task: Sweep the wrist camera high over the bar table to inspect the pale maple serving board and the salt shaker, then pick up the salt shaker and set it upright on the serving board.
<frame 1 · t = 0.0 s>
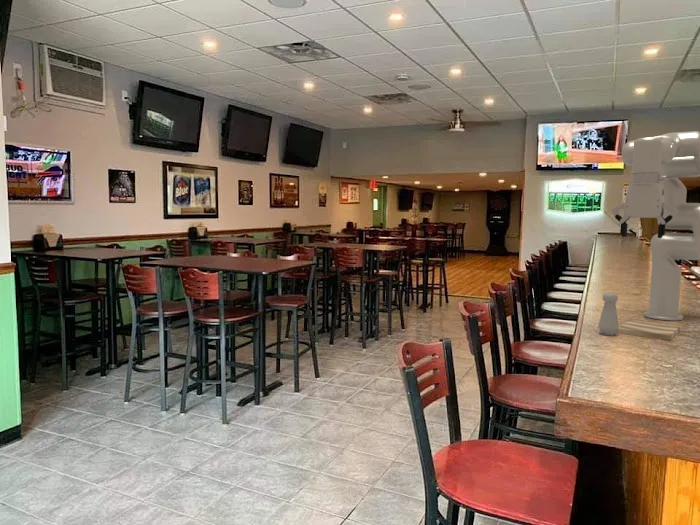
hand: (641, 237, 159), 31 cm above the bar counter, tool pointing down, fingers open, 9 cm apart
serving board: (648, 331, 172), on the bar counter
salt shaker: (607, 334, 168), on the bar counter
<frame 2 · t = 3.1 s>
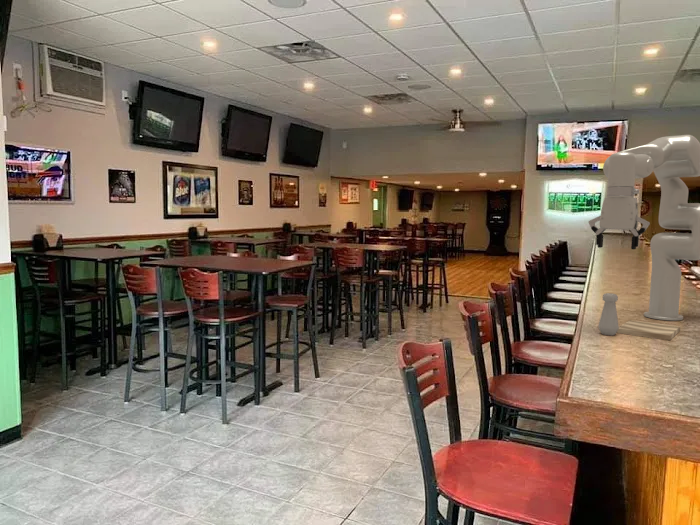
hand: (616, 248, 165), 27 cm above the bar counter, tool pointing down, fingers open, 9 cm apart
nothing on the bar counter moved.
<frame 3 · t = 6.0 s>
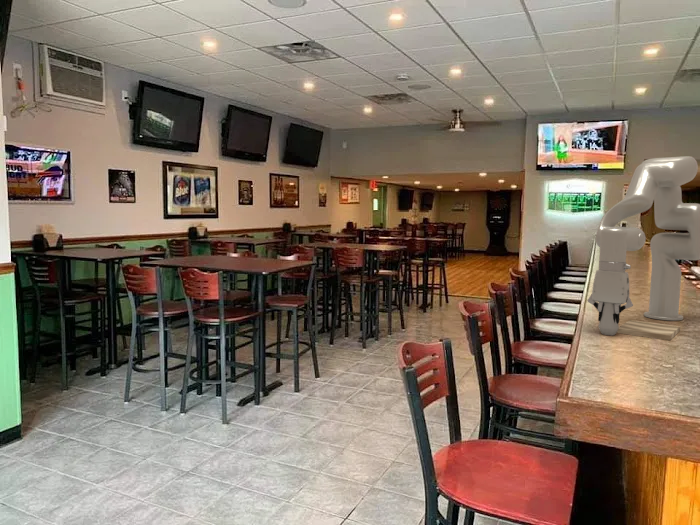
hand: (608, 324, 167), 3 cm above the bar counter, tool pointing down, fingers closed on salt shaker, 3 cm apart
salt shaker: (607, 334, 168), on the bar counter, touching gripper
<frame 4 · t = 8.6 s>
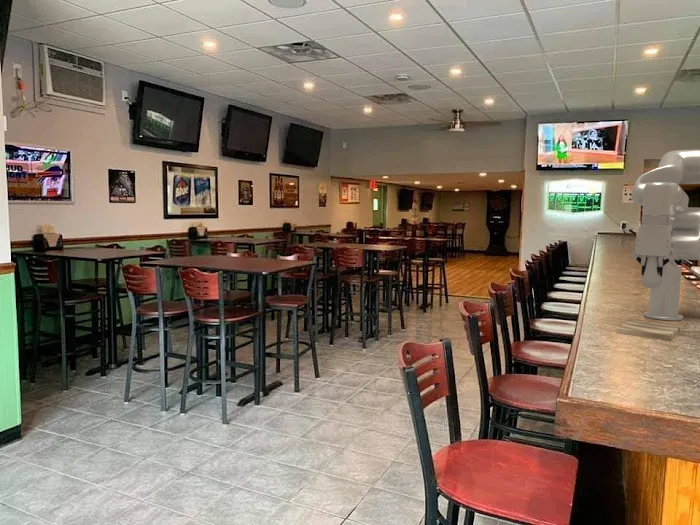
hand: (651, 277, 170), 18 cm above the bar counter, tool pointing down, fingers closed on salt shaker, 3 cm apart
salt shaker: (651, 288, 171), point 14 cm above the bar counter, touching gripper
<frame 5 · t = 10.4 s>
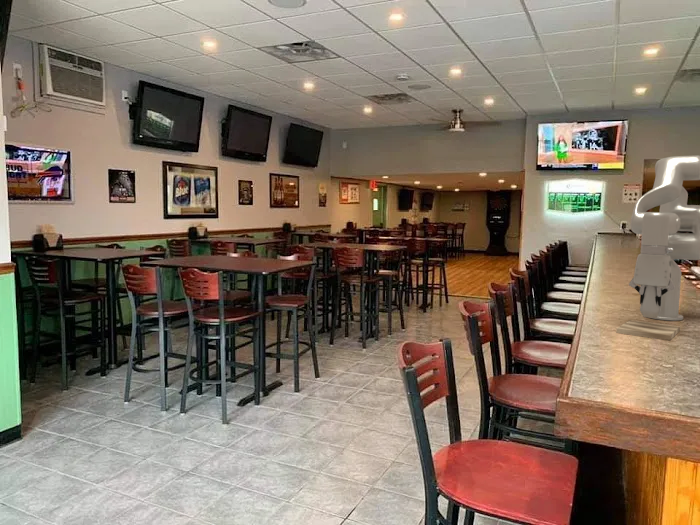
hand: (650, 306, 171), 8 cm above the bar counter, tool pointing down, fingers closed on salt shaker, 3 cm apart
salt shaker: (649, 317, 171), point 5 cm above the bar counter, touching gripper
when the fingers open (6 cm above the bar counter, at t = 11.5 s): salt shaker drops 1 cm, resting on serving board.
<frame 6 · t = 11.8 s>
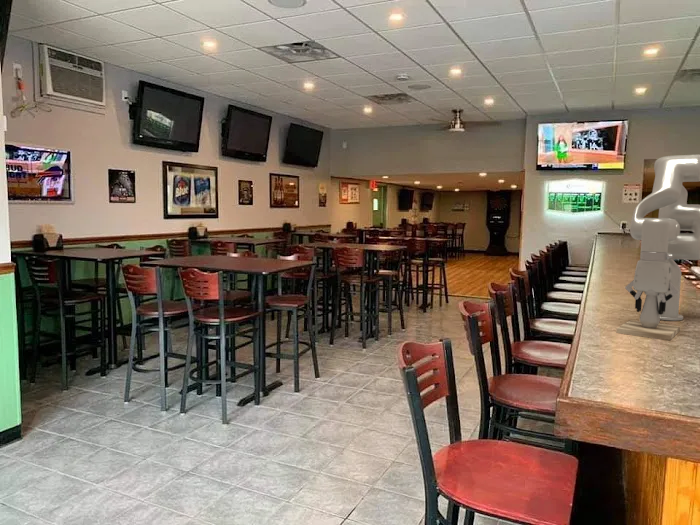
hand: (649, 312, 171), 7 cm above the bar counter, tool pointing down, fingers open, 5 cm apart
salt shaker: (648, 327, 172), point 1 cm above the bar counter, touching serving board
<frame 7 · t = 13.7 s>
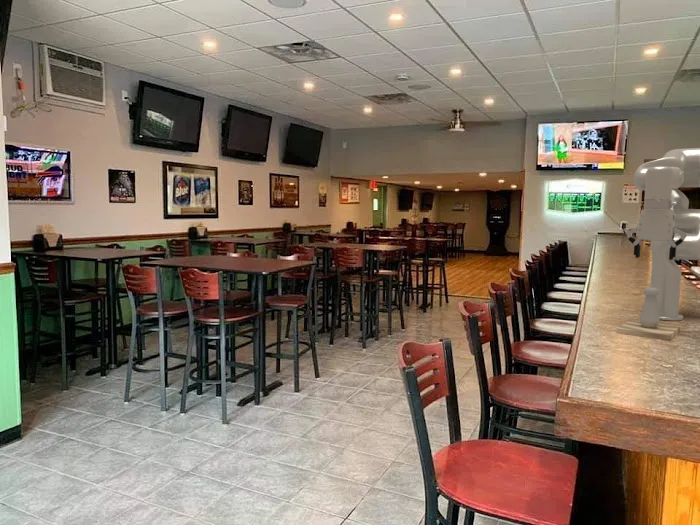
hand: (654, 258, 171), 24 cm above the bar counter, tool pointing down, fingers open, 9 cm apart
nothing on the bar counter moved.
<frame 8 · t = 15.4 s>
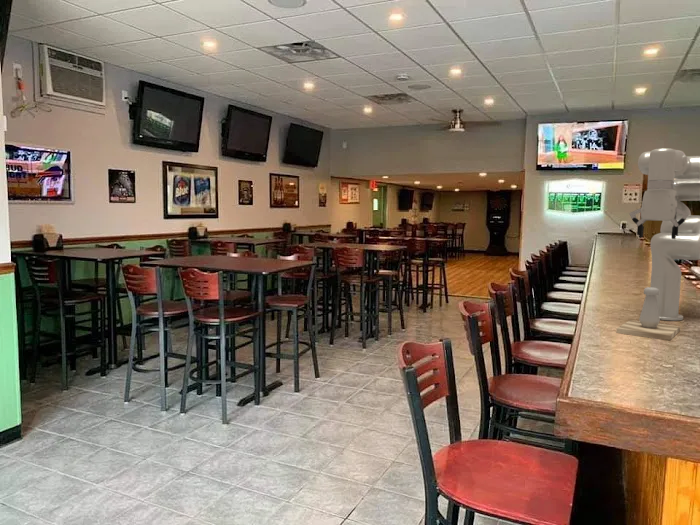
hand: (656, 238, 176), 30 cm above the bar counter, tool pointing down, fingers open, 9 cm apart
nothing on the bar counter moved.
at the end: salt shaker inside the target area on the serving board (0.2 cm from its centre), point 1.3 cm above the serving board's base; salt shaker tilted 0°; the gripper is holding nothing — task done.
